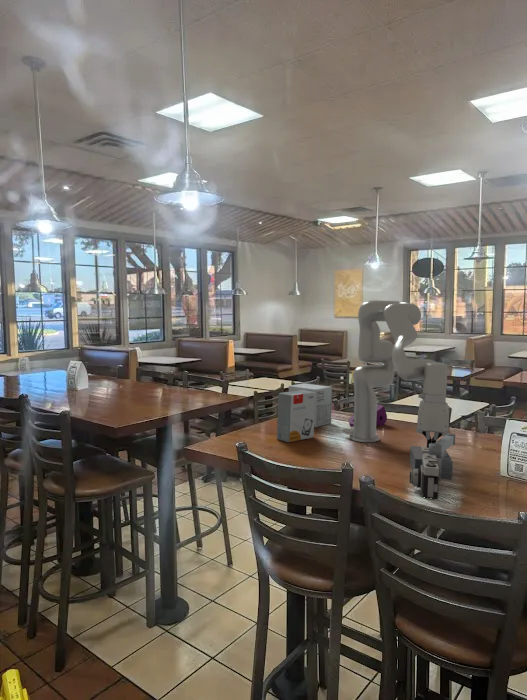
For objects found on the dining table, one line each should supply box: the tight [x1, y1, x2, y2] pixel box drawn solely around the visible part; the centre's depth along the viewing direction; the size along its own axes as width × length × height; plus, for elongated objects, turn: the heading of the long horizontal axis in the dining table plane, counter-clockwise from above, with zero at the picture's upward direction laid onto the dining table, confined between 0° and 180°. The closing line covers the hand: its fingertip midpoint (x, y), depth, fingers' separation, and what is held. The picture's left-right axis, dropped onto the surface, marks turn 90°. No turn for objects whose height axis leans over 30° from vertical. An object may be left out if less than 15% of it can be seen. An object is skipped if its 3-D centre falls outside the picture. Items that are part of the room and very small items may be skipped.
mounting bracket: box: [348, 403, 388, 428], centre depth 241 cm, size 9×8×18 cm
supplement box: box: [288, 383, 333, 428], centre depth 243 cm, size 17×13×18 cm
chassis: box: [409, 445, 454, 482], centre depth 173 cm, size 12×19×8 cm, turn 169°
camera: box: [409, 454, 439, 500], centre depth 155 cm, size 14×8×10 cm, turn 164°
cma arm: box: [428, 432, 456, 457], centre depth 171 cm, size 4×21×4 cm, turn 144°
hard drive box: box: [276, 390, 315, 443], centre depth 214 cm, size 16×8×20 cm, turn 131°
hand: (431, 450), depth 174 cm, fingers closed
